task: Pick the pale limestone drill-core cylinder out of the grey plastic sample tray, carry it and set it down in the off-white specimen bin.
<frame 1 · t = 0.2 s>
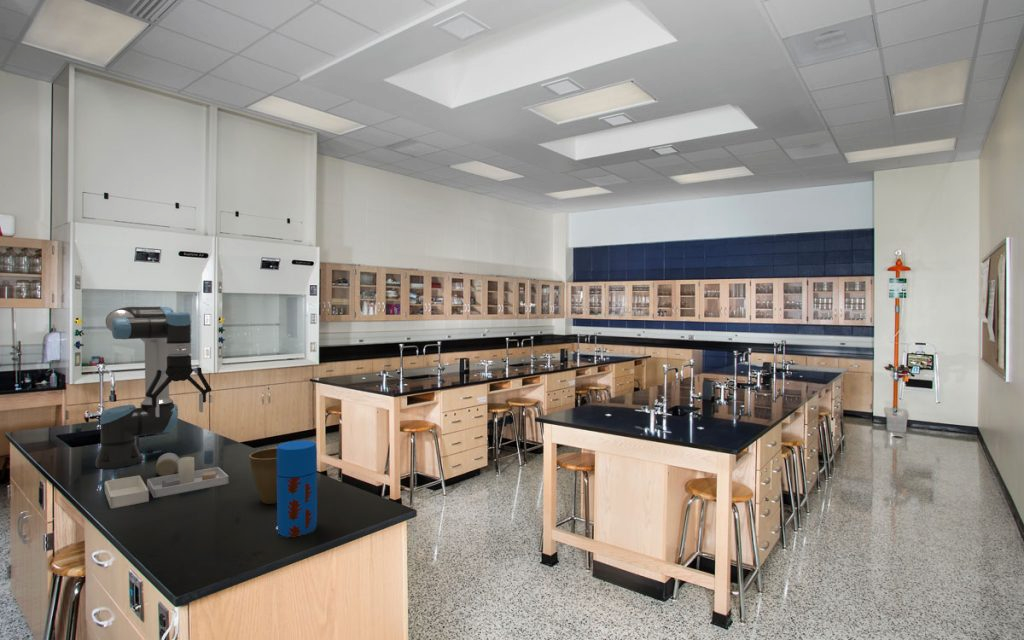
hand: (179, 414, 197), 26 cm above the counter, fingers open, 13 cm apart
sample tray: (188, 485, 198), on the counter
specimen bin: (126, 497, 186), on the counter
thermos: (297, 530, 160), on the counter
ceramic mug: (171, 474, 212), on the counter
gray cube: (171, 491, 192), resting on sample tray
limestone core: (186, 482, 201), resting on sample tray
plant pot: (274, 500, 184), on the counter
orange cube: (209, 484, 199), resting on sample tray
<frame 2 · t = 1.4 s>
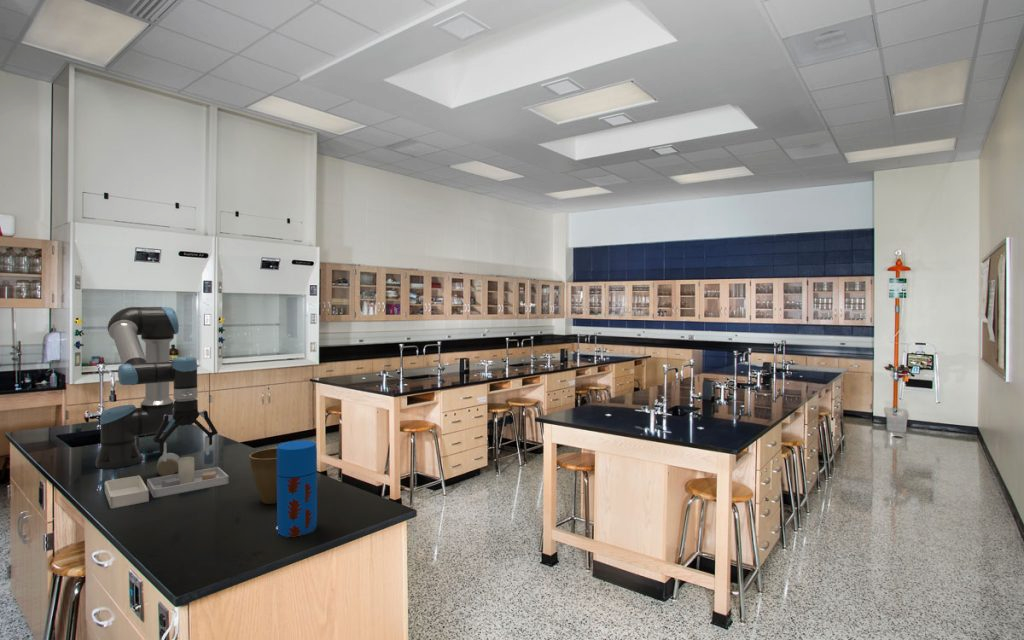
hand: (186, 457, 200), 10 cm above the counter, fingers open, 13 cm apart
nothing on the counter moved.
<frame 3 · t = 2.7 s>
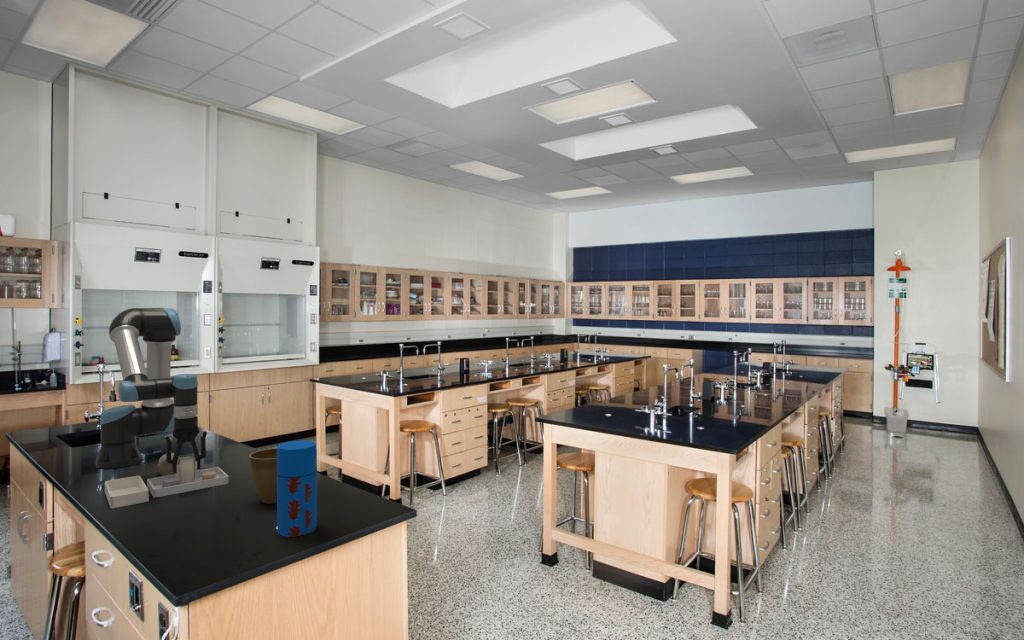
hand: (186, 479, 201), 2 cm above the counter, fingers closed on limestone core, 5 cm apart
limestone core: (186, 482, 201), resting on sample tray, touching gripper
everything else where it was.
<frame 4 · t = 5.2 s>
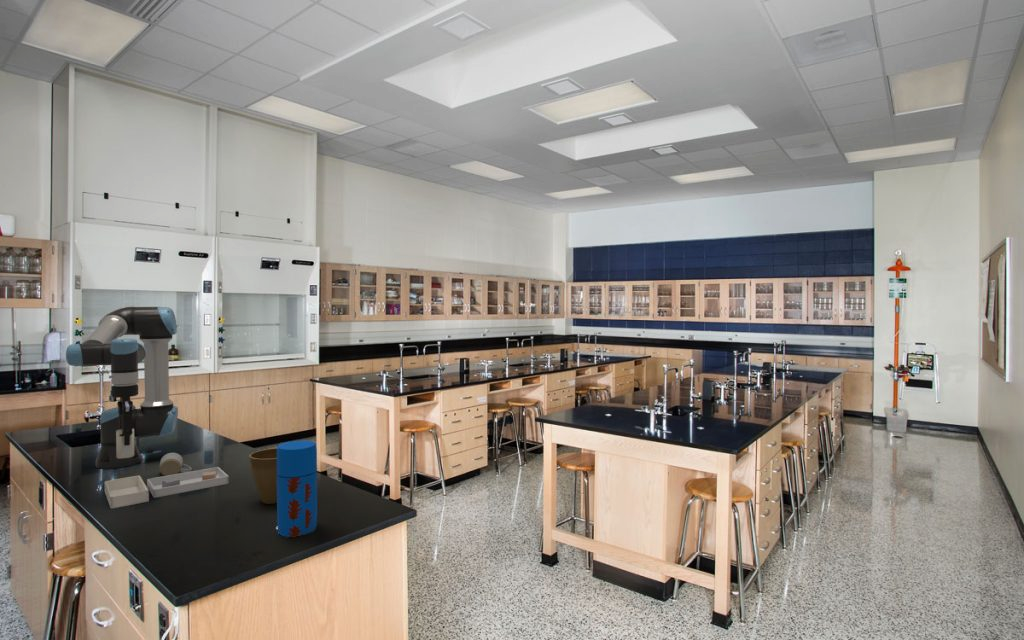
hand: (125, 452, 186), 15 cm above the counter, fingers closed on limestone core, 5 cm apart
limestone core: (125, 456, 186), point 14 cm above the counter, touching gripper
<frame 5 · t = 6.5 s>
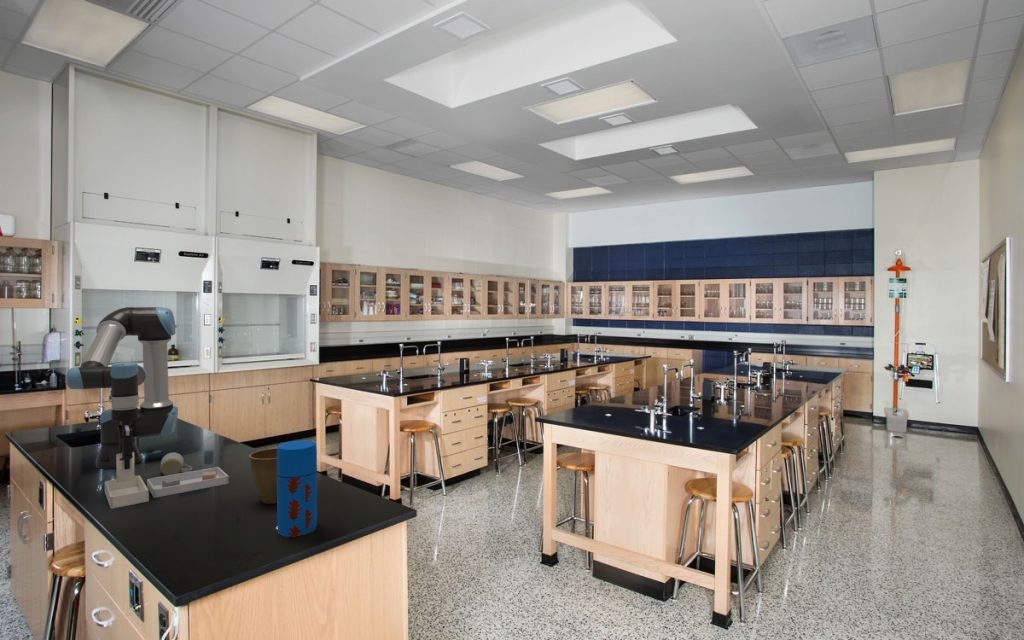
hand: (125, 476, 186), 7 cm above the counter, fingers closed on limestone core, 5 cm apart
limestone core: (125, 479, 186), point 6 cm above the counter, touching gripper
when the fingers open (3 cm above the counter, at t = 7.7 s): limestone core drops 1 cm, resting on specimen bin.
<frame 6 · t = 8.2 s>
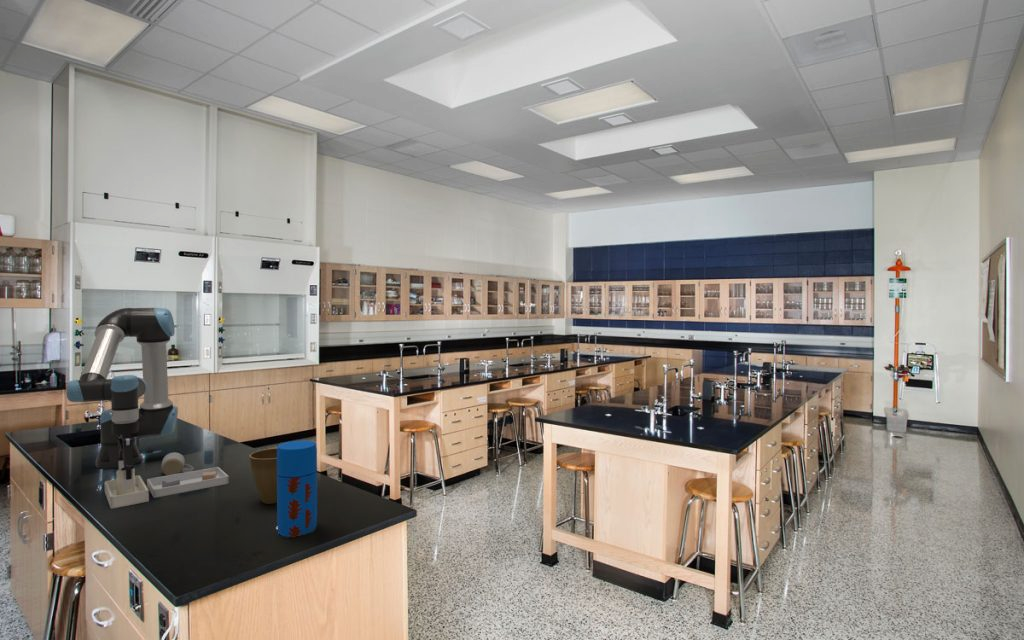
hand: (126, 483, 186), 5 cm above the counter, fingers open, 13 cm apart
limestone core: (125, 496, 186), resting on specimen bin
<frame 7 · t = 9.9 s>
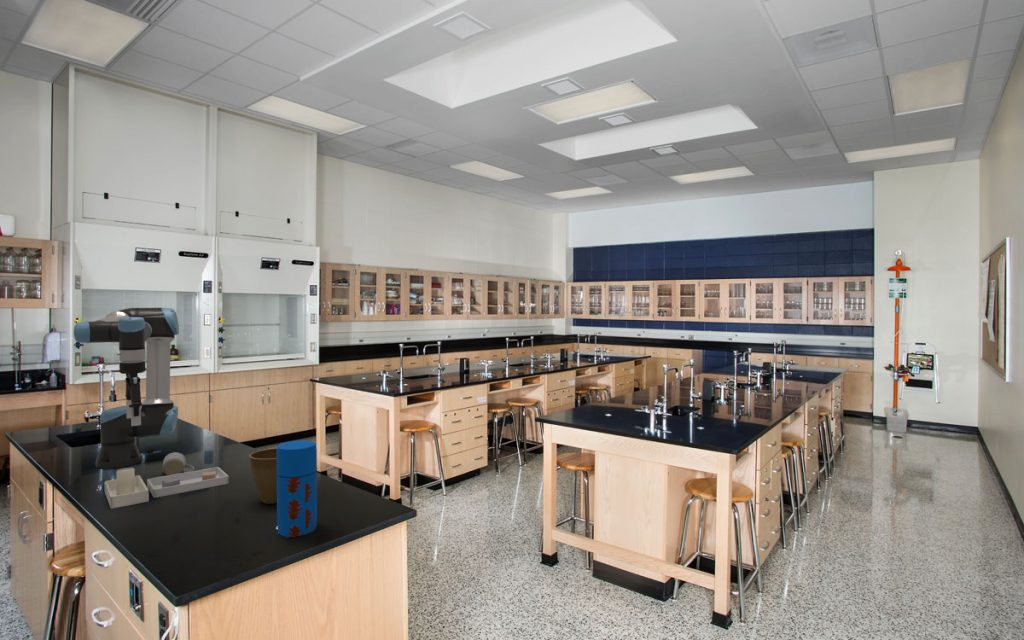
hand: (133, 421, 192), 24 cm above the counter, fingers open, 13 cm apart
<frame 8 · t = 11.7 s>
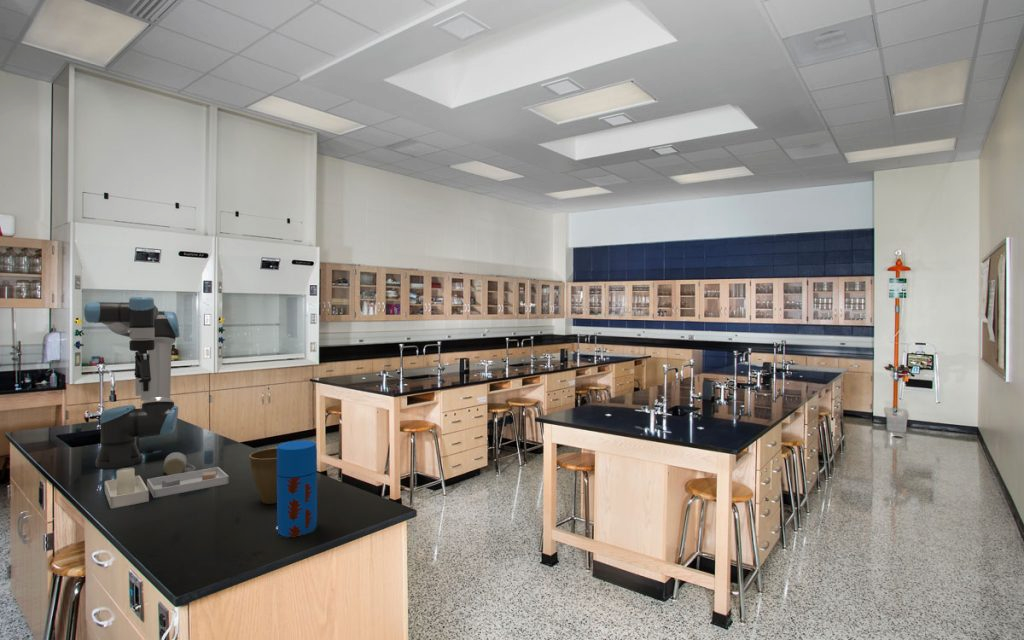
hand: (142, 397, 199), 32 cm above the counter, fingers open, 13 cm apart
at the end: limestone core inside the target area on the specimen bin (0.1 cm from its centre), point 0.4 cm above the specimen bin's base; the gripper is holding nothing; gray cube inside the target area on the sample tray (7.2 cm from its centre), point 0.3 cm above the sample tray's base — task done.
